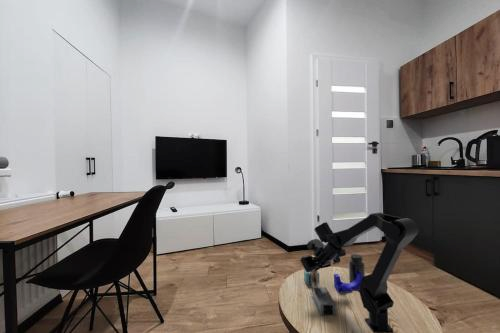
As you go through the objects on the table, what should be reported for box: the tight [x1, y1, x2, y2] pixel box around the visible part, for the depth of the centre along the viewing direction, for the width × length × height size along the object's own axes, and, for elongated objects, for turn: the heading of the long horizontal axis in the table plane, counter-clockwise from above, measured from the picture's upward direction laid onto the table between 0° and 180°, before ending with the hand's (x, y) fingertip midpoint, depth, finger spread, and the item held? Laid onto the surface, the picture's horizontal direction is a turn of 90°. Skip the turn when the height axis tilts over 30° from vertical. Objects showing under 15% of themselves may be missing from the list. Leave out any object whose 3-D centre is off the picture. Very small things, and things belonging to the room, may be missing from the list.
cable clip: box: [333, 273, 363, 293], centre depth 107 cm, size 12×4×6 cm, turn 92°
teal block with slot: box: [303, 268, 320, 285], centre depth 115 cm, size 5×6×5 cm
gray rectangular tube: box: [312, 287, 337, 317], centre depth 94 cm, size 12×5×4 cm, turn 178°
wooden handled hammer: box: [309, 254, 322, 289], centre depth 106 cm, size 18×3×13 cm, turn 179°
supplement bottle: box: [348, 253, 366, 283], centre depth 114 cm, size 7×7×12 cm
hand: (311, 269), depth 111 cm, fingers closed on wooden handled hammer, 3 cm apart
